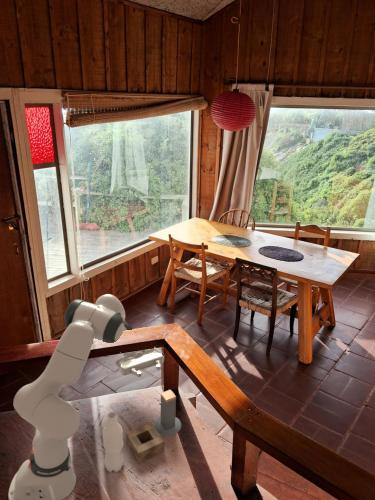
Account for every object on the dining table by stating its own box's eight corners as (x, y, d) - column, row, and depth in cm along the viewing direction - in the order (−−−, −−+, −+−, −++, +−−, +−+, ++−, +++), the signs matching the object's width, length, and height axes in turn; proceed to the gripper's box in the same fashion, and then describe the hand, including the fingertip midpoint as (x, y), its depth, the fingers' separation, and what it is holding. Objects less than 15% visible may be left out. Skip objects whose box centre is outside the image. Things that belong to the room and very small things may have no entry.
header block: (138, 465, 153) (138, 453, 151) (126, 444, 162) (126, 433, 160) (164, 452, 159) (164, 441, 157) (151, 433, 168) (151, 422, 165)
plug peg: (165, 430, 168) (166, 400, 162) (160, 423, 171) (160, 393, 165) (175, 426, 170) (175, 396, 164) (169, 419, 174) (170, 389, 168)
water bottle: (103, 475, 149) (100, 422, 140) (106, 458, 156) (103, 407, 146) (122, 475, 149) (121, 422, 140) (125, 458, 156) (123, 407, 147)
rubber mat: (154, 437, 166) (154, 435, 165) (155, 417, 176) (155, 415, 176) (181, 437, 166) (181, 435, 166) (180, 416, 176) (180, 415, 176)
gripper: (113, 355, 176) (127, 373, 165) (155, 342, 186) (170, 358, 175) (113, 367, 178) (127, 386, 167) (155, 354, 188) (170, 370, 178)
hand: (149, 372), depth 171 cm, fingers open, 8 cm apart
